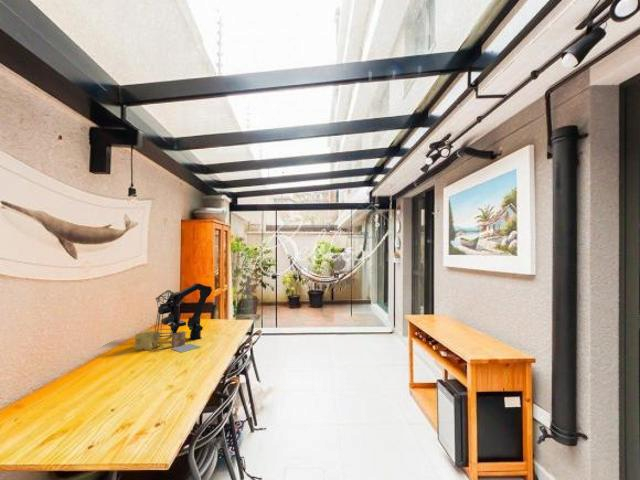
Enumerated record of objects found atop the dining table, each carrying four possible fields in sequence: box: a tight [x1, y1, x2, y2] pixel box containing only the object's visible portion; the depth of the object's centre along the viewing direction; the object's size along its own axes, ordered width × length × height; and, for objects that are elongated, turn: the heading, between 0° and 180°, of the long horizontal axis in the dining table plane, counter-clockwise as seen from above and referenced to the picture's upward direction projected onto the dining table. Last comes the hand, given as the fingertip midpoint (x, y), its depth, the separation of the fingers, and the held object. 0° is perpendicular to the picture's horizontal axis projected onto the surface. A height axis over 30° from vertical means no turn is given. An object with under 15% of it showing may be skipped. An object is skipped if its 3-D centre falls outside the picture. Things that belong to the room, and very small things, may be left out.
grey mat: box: [171, 343, 201, 353], centre depth 202 cm, size 14×12×1 cm
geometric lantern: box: [154, 289, 175, 340], centre depth 227 cm, size 16×16×35 cm
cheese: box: [134, 330, 160, 351], centre depth 202 cm, size 10×11×10 cm
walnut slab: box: [171, 330, 186, 348], centre depth 207 cm, size 8×3×9 cm, turn 147°
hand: (174, 334), depth 210 cm, fingers closed
